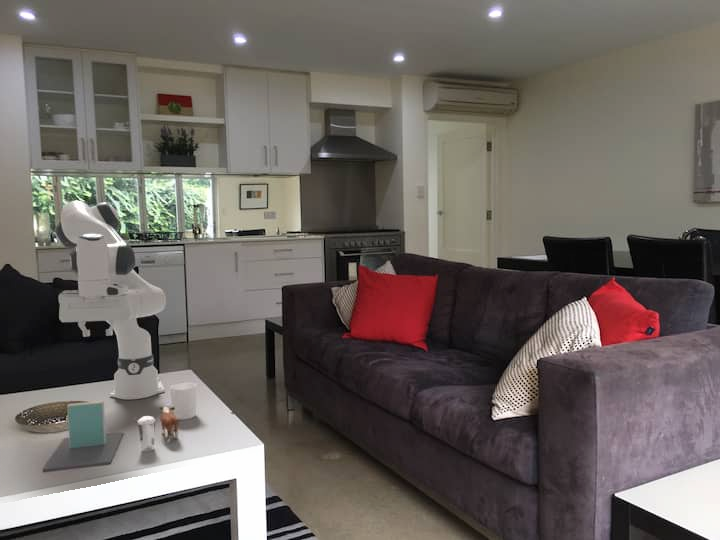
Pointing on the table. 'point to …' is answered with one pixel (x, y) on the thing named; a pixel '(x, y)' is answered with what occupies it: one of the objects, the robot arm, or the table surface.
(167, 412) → the bull figurine
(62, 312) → the robot arm
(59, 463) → the mat
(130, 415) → the table surface
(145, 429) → the milkshake
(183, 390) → the white cup
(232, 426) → the table surface
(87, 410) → the tile
